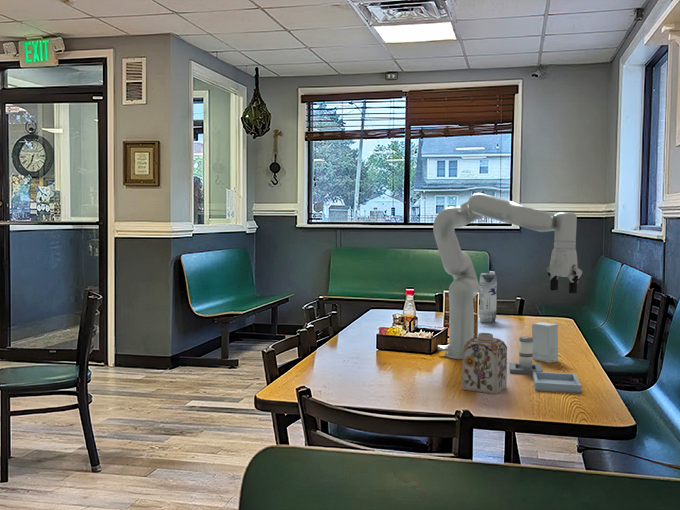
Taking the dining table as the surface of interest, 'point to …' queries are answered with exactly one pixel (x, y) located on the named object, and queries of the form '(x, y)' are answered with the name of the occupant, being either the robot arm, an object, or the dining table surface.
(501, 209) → the robot arm
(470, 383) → the decorative jar
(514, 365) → the socket
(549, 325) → the skincare box
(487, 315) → the juice carton
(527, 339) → the cylinder
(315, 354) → the dining table surface
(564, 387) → the tray
